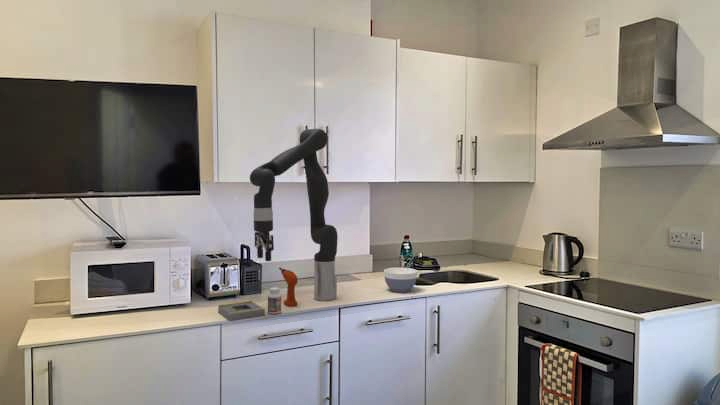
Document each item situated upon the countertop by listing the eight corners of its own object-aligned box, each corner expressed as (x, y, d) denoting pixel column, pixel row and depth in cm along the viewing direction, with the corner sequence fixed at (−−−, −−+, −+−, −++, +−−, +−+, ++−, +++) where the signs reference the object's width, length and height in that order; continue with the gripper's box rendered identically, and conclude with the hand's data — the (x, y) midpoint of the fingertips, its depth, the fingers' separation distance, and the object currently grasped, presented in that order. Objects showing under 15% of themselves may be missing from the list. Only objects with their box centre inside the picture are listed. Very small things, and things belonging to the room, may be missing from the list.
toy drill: (283, 293, 230) (285, 261, 227) (299, 308, 213) (300, 273, 211) (273, 294, 227) (274, 262, 225) (288, 309, 211) (289, 275, 209)
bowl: (422, 289, 246) (423, 269, 245) (407, 295, 232) (407, 275, 232) (394, 285, 254) (394, 266, 254) (377, 291, 241) (377, 271, 241)
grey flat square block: (251, 307, 211) (251, 300, 210) (264, 315, 199) (264, 308, 199) (218, 312, 203) (218, 305, 203) (230, 320, 191) (230, 313, 191)
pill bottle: (278, 314, 200) (278, 290, 200) (265, 313, 201) (265, 289, 201) (283, 310, 206) (283, 287, 205) (270, 310, 206) (270, 286, 206)
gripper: (279, 219, 197) (280, 261, 198) (265, 217, 209) (266, 255, 210) (260, 221, 193) (261, 263, 194) (247, 218, 205) (248, 257, 206)
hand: (264, 259), depth 202 cm, fingers open, 8 cm apart
